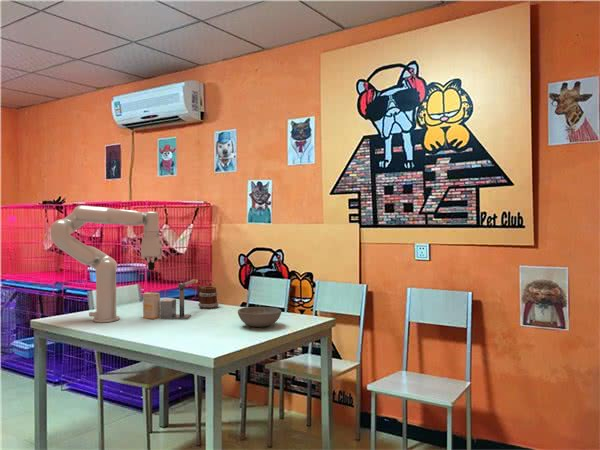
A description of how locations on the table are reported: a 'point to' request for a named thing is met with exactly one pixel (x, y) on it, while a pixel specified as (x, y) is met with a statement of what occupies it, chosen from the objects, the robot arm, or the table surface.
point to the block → (167, 308)
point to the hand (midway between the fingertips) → (151, 269)
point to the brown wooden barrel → (207, 297)
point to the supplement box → (151, 305)
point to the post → (181, 307)
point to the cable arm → (186, 283)
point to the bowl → (259, 316)
